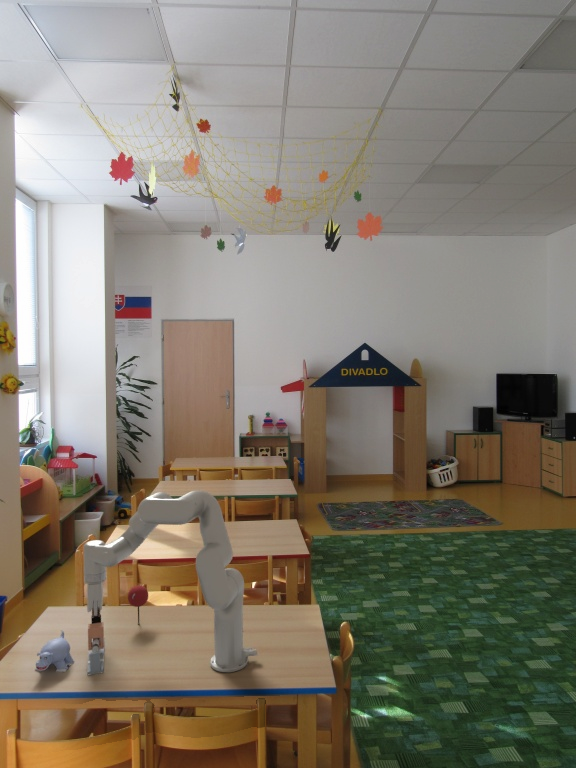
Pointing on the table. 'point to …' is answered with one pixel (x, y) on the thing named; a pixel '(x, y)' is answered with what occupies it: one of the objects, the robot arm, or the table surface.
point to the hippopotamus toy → (55, 655)
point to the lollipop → (138, 597)
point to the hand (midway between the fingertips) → (96, 626)
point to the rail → (95, 658)
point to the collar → (95, 634)
